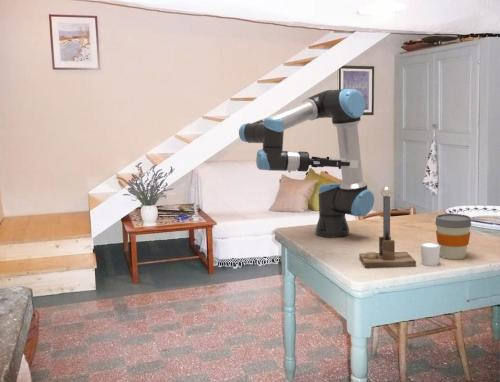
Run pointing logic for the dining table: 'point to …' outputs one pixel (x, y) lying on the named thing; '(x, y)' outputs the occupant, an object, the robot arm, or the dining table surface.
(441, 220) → the reusable coffee cup
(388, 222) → the lever
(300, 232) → the dining table surface
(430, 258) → the white cylinder
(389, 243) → the lever stand
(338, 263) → the dining table surface
